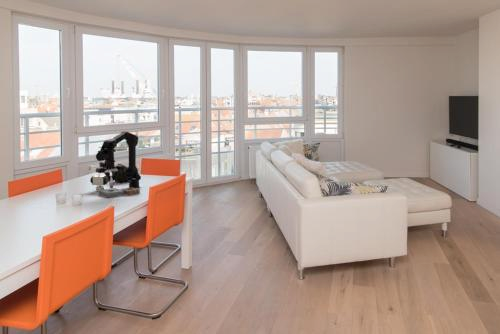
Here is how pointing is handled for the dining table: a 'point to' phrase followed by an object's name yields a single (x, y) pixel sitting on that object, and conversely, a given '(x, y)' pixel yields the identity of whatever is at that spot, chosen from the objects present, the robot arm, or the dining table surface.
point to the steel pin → (111, 181)
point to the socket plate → (111, 192)
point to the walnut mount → (131, 191)
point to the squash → (121, 175)
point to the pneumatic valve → (99, 181)
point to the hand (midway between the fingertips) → (111, 181)
